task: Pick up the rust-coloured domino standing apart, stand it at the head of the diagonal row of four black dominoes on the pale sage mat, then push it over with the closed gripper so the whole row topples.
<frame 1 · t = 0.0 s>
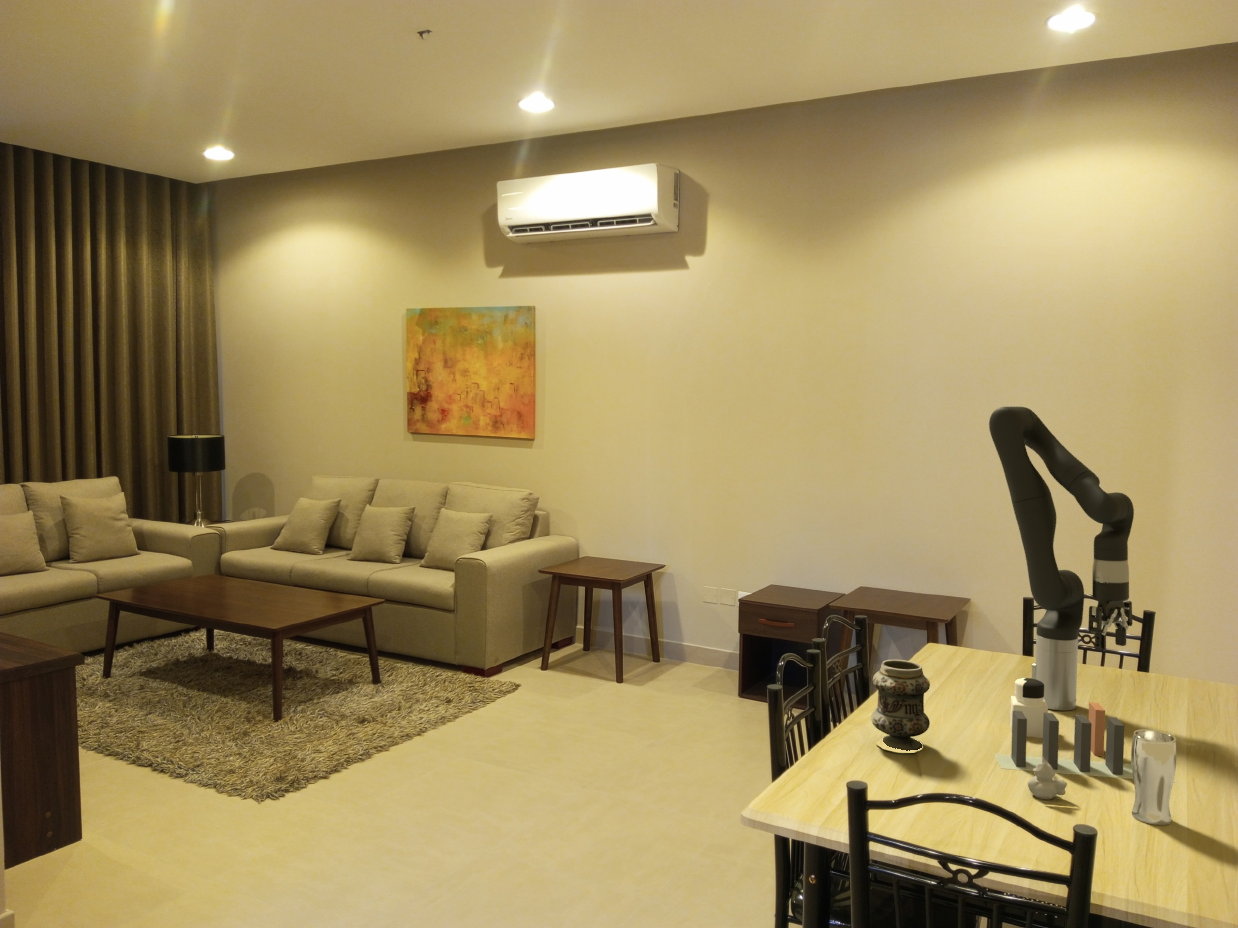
hand: (1110, 647, 215), 17 cm above the table, tool pointing down, fingers open, 8 cm apart
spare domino: (1095, 752, 196), on the table
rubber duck: (1046, 799, 173), on the table
domino 3: (1049, 764, 189), resting on mat
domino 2: (1081, 767, 187), resting on mat
mat: (1081, 768, 187), on the table
domino 4: (1018, 762, 190), resting on mat
medicine bottle: (1028, 733, 208), on the table
apothecary jar: (899, 746, 200), on the table
beer glass: (1151, 818, 165), on the table
domino 1: (1113, 769, 186), resting on mat
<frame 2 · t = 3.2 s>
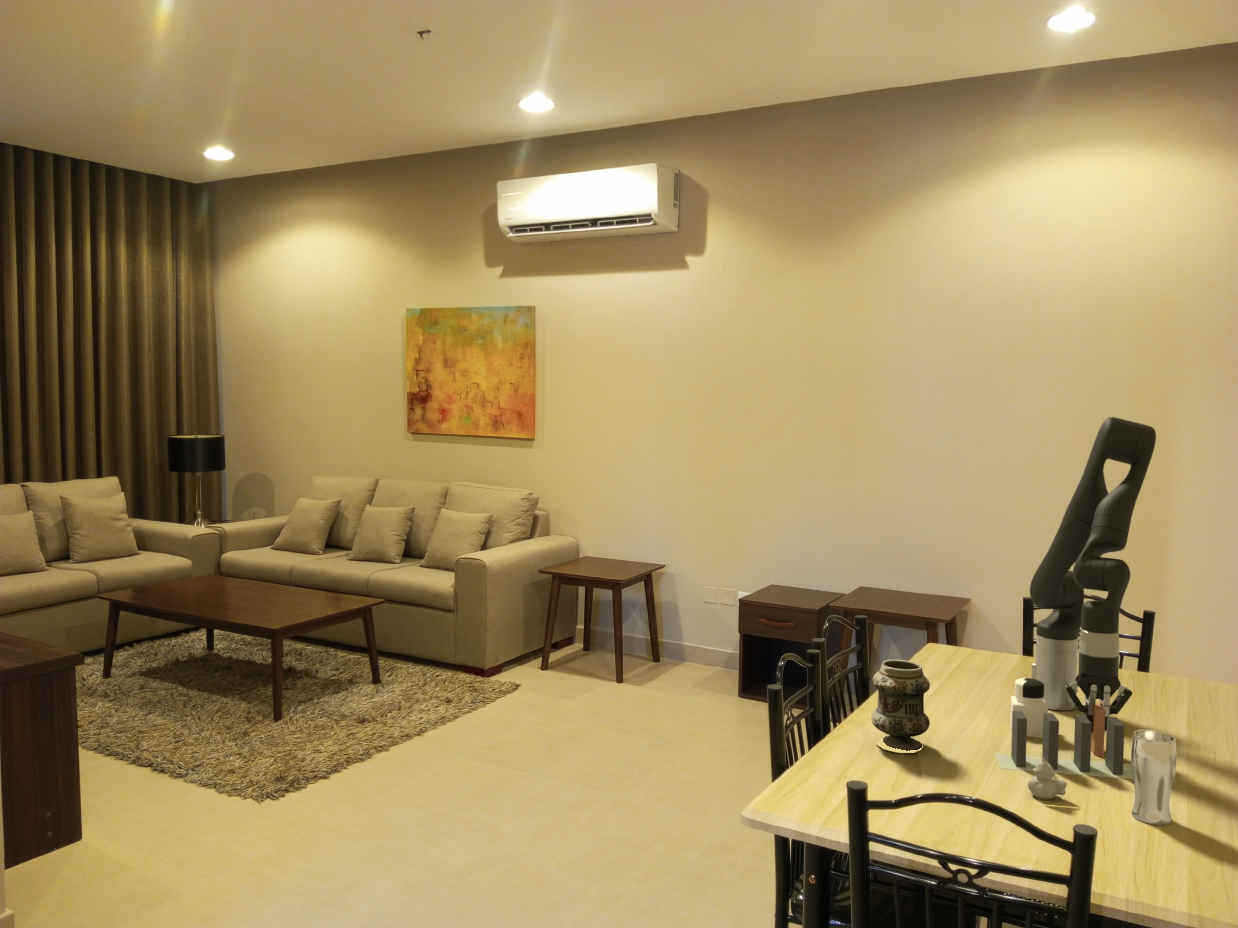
hand: (1096, 731, 196), 5 cm above the table, tool pointing down, fingers closed on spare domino
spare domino: (1095, 752, 196), on the table, touching gripper
everything else where it was.
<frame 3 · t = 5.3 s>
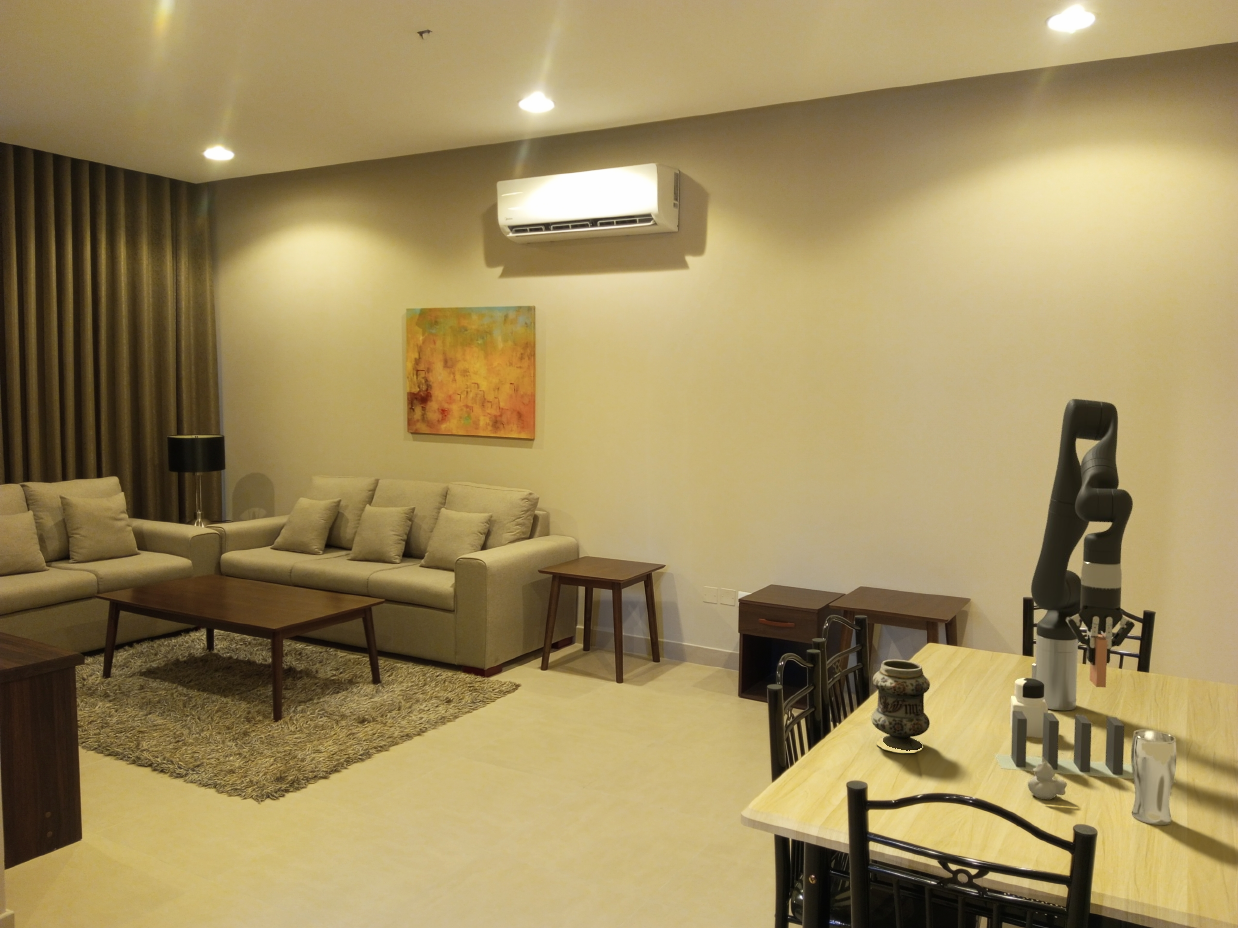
hand: (1098, 664, 195), 19 cm above the table, tool pointing down, fingers closed on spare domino, 1 cm apart
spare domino: (1097, 683, 195), point 15 cm above the table, touching gripper
everything else where it was.
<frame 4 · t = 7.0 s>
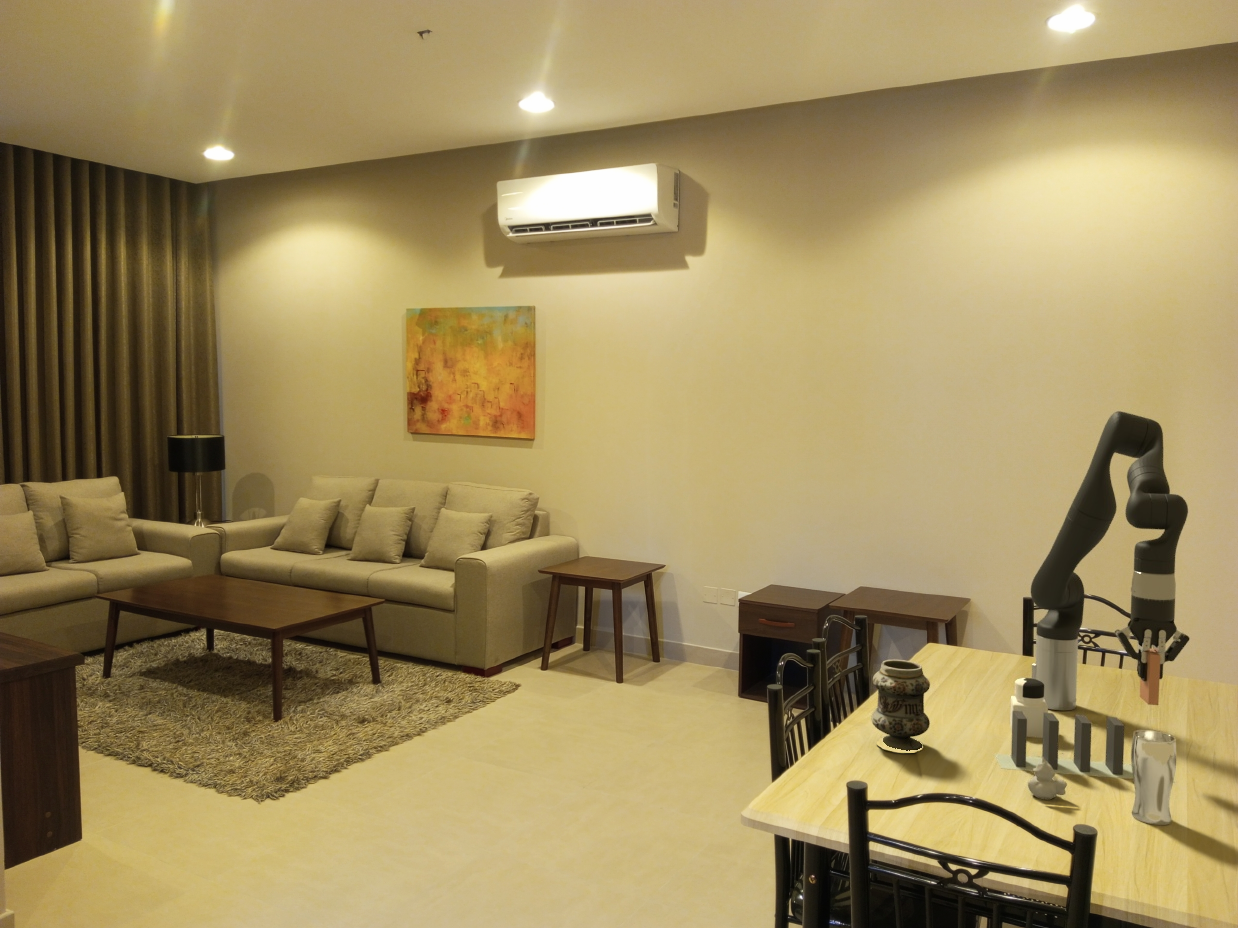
hand: (1150, 680, 184), 19 cm above the table, tool pointing down, fingers closed on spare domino, 1 cm apart
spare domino: (1148, 700, 184), point 15 cm above the table, touching gripper
everything else where it was.
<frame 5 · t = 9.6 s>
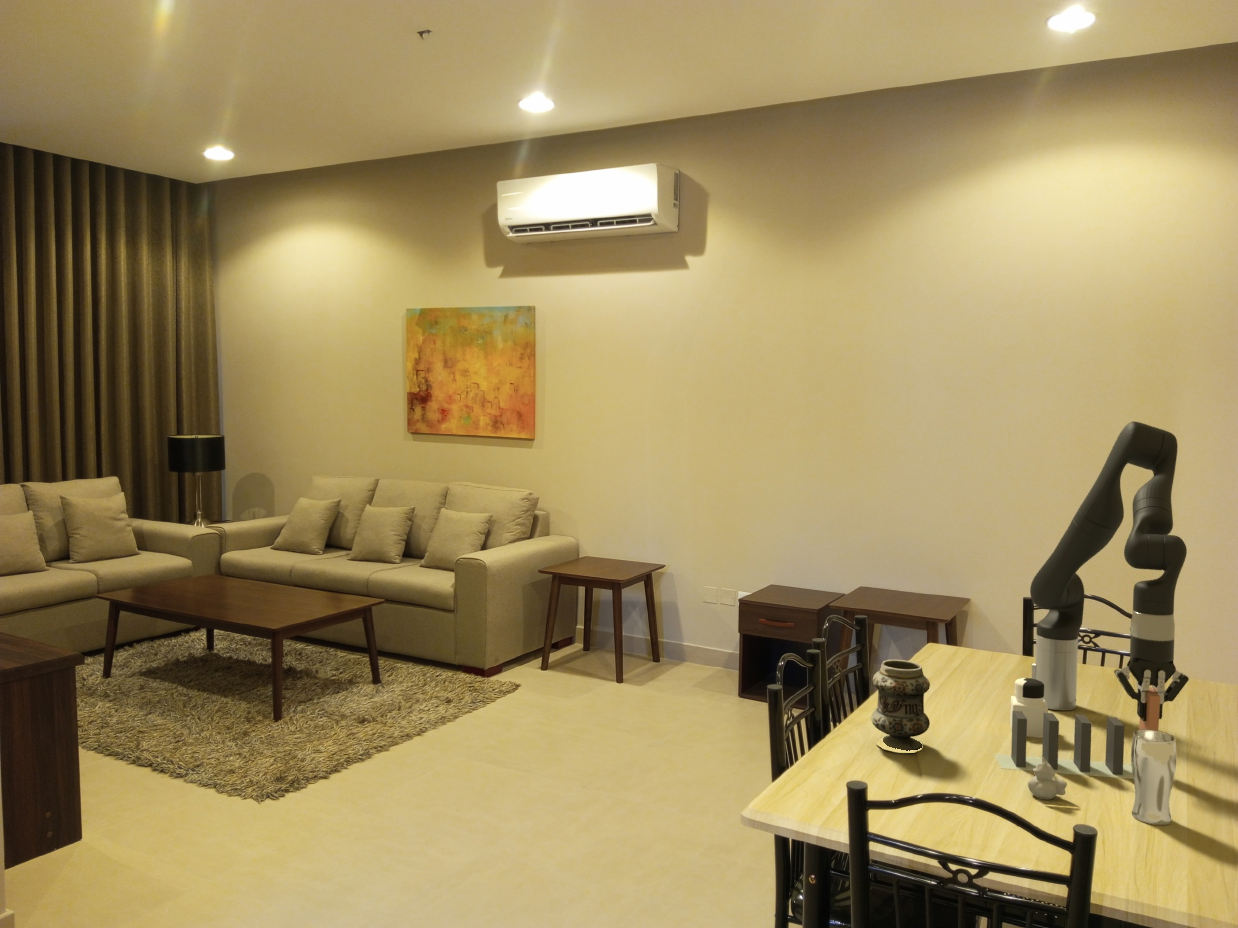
hand: (1149, 719, 184), 11 cm above the table, tool pointing down, fingers closed on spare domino, 1 cm apart
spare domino: (1148, 739, 185), point 7 cm above the table, touching gripper
everything else where it was.
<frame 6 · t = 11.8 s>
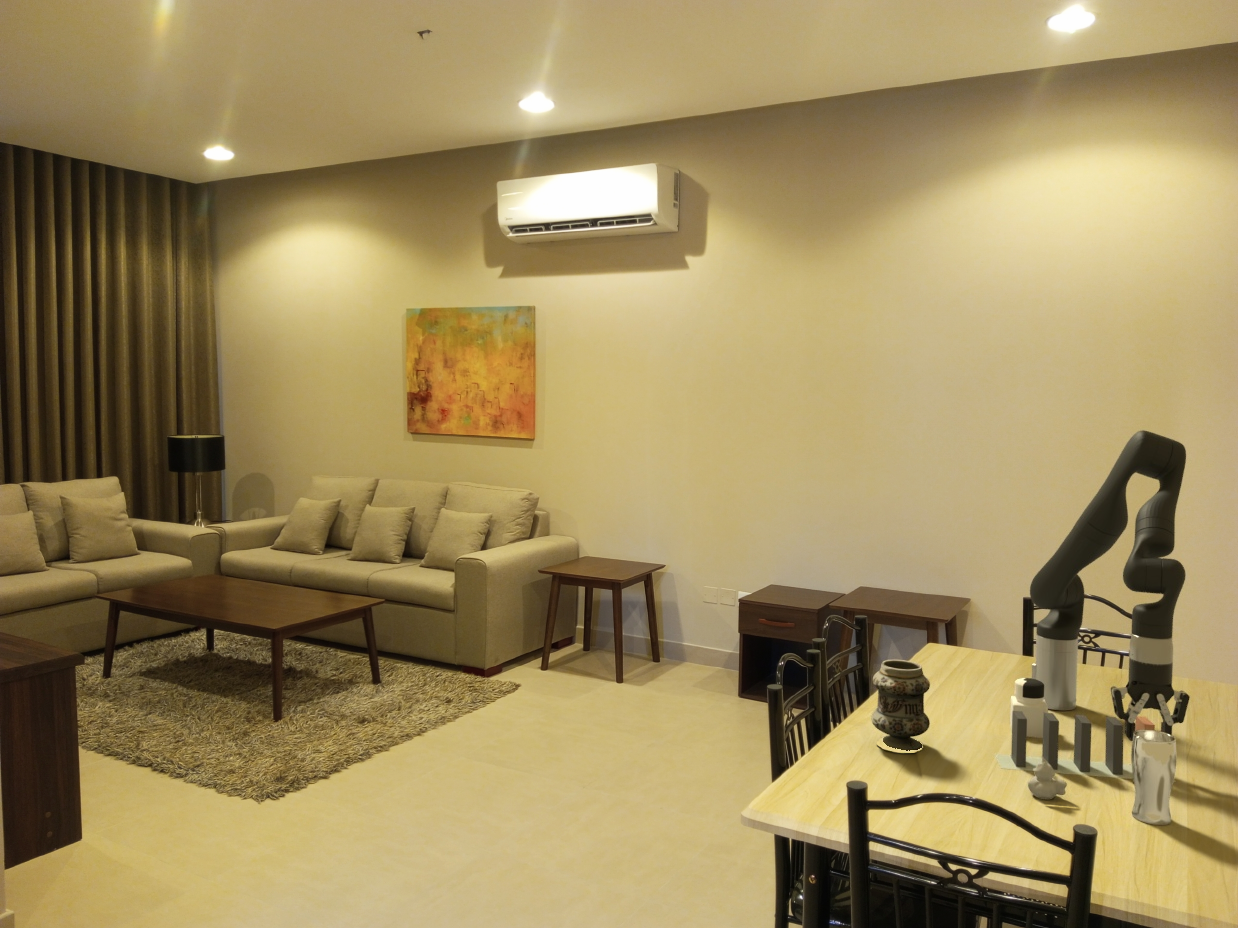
hand: (1147, 740, 184), 7 cm above the table, tool pointing down, fingers open, 5 cm apart
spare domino: (1143, 768, 186), resting on mat
domino 1: (1113, 769, 186), resting on mat, touching gripper
everything else where it was.
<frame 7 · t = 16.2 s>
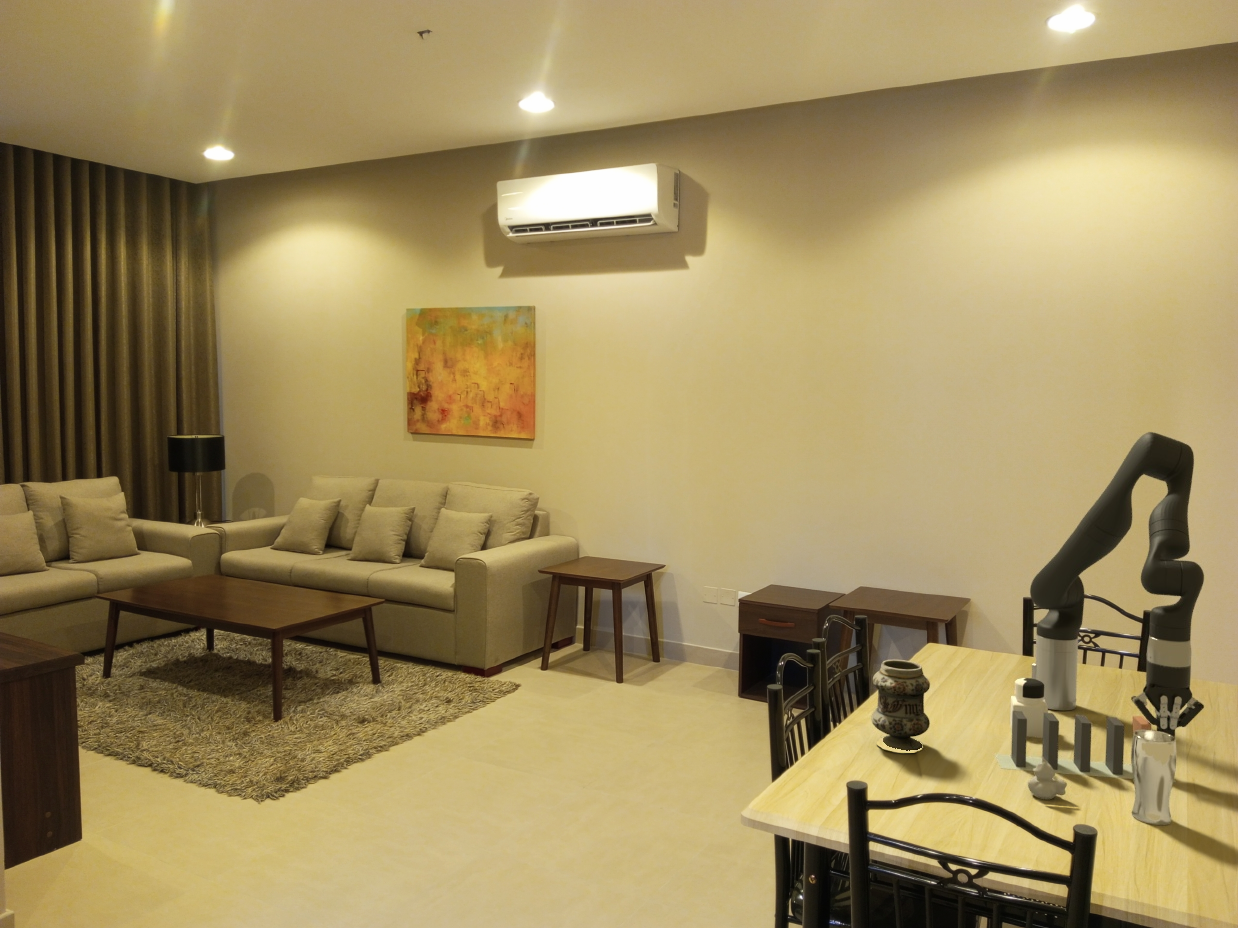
hand: (1165, 745, 184), 6 cm above the table, tool pointing down, fingers closed
domino 1: (1113, 769, 186), resting on mat
everything else where it was.
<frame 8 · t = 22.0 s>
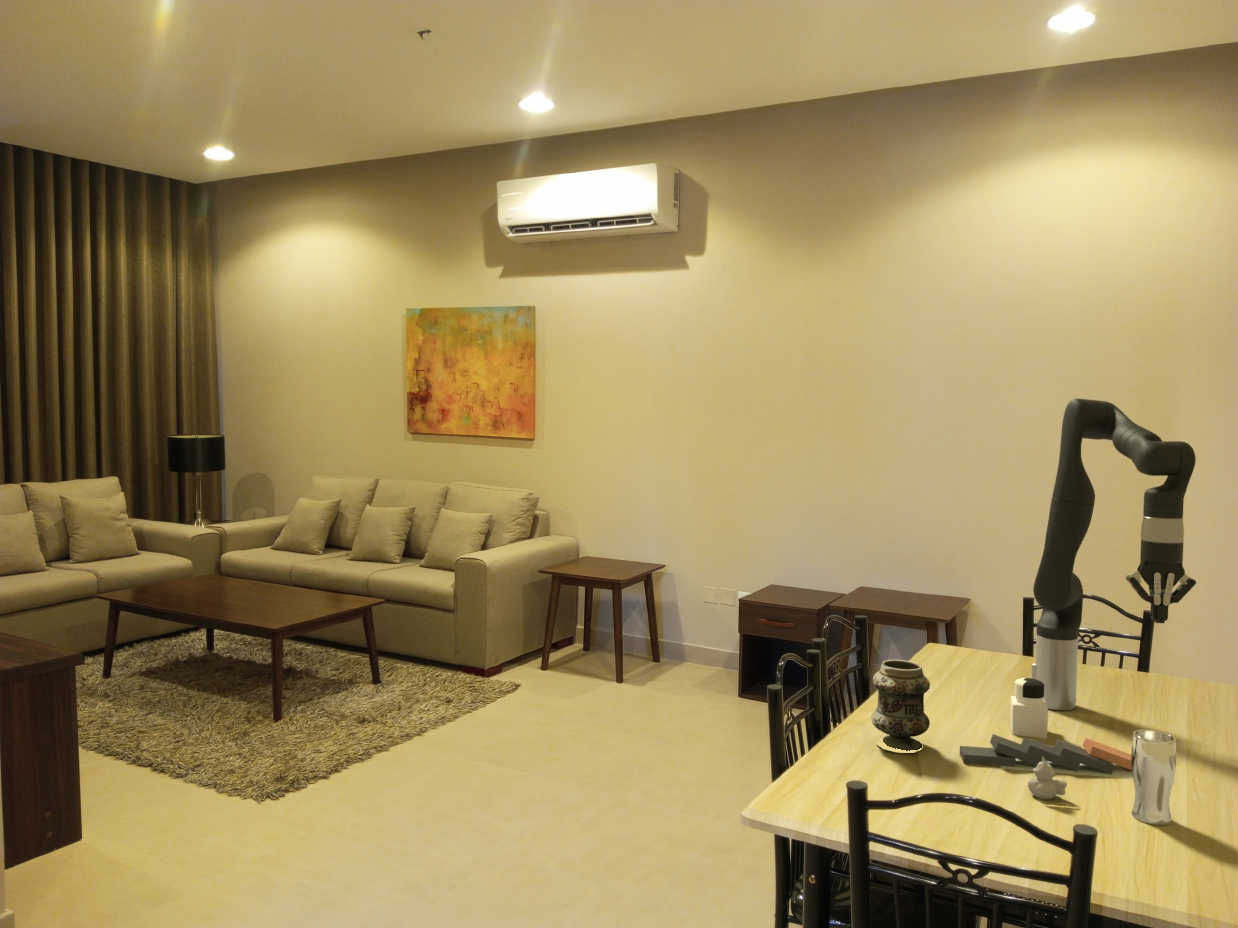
hand: (1159, 622, 190), 29 cm above the table, tool pointing down, fingers closed
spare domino: (1137, 764, 187), point 1 cm above the table, tilted 72°, touching domino 1, mat
domino 3: (1042, 760, 189), point 1 cm above the table, tilted 72°, touching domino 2, domino 4, mat
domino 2: (1075, 762, 188), point 1 cm above the table, tilted 72°, touching domino 1, domino 3, mat
domino 4: (1012, 757, 190), point 1 cm above the table, tilted 90°, touching domino 3, mat
domino 1: (1109, 765, 186), point 1 cm above the table, tilted 73°, touching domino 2, mat, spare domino
everything else where it was.
at the end: domino 4 tilted 90°; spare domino tilted 72°; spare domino 6.0 cm from the domino 1 (horizontally) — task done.
